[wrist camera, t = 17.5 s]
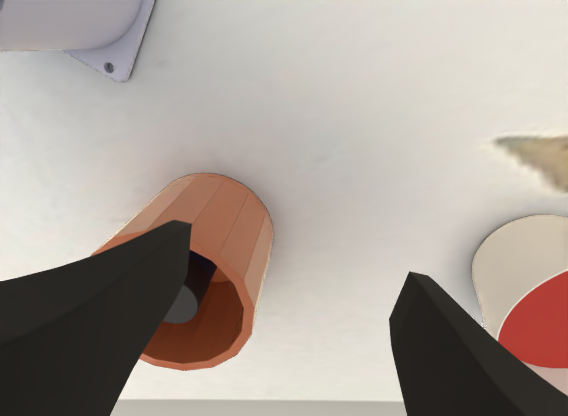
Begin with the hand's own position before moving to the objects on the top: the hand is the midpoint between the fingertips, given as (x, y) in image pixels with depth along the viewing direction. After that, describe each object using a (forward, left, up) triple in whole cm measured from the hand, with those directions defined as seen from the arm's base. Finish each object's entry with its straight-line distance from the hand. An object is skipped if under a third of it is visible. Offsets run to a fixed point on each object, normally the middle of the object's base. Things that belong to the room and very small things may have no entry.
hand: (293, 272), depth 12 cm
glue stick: (-3, -7, -10) cm, 12 cm away
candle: (+15, +2, -11) cm, 18 cm away
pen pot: (-3, -7, -10) cm, 13 cm away
